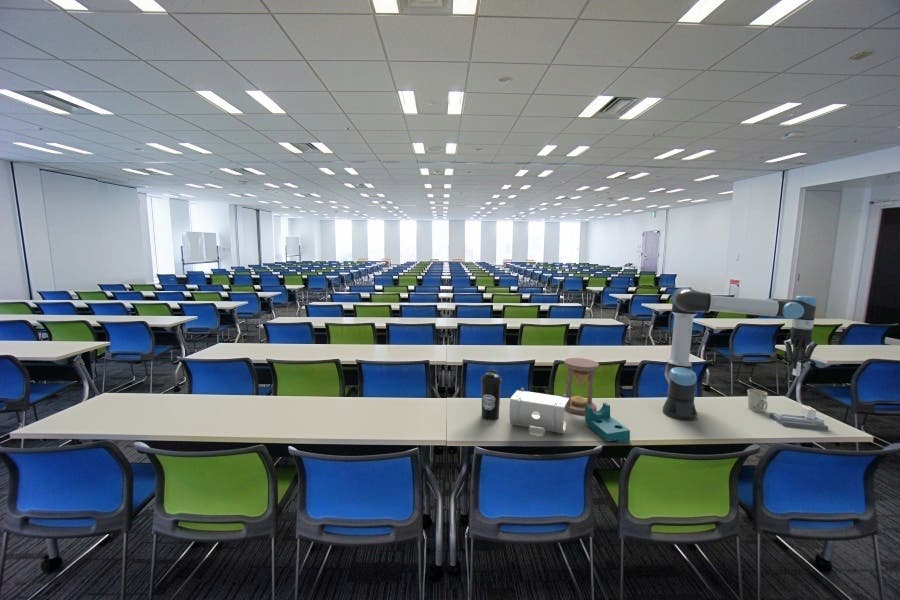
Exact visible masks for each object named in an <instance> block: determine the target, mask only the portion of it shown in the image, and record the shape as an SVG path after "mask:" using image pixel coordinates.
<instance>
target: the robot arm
mask: <svg viewBox="0 0 900 600" xmlns="http://www.w3.org/2000/svg"><path fill="white" fill-rule="evenodd" d="M671 302H672V304H671V313H672V314H673V316H674V318H673V326H672V327H673V329H672V339H671V347H670V349H671V350H670V357H669V358H668V359H666V366H665V370H664V377H665V380H666V382H667V384H668V387H667V397H666V399H665V402H664V404H663V406H662V413H664V415H665V416H668V417H671V418H673V419H677V420H680V421H681V420H682V421H694V420H697V418H698V412H697V408H696V404H695V397H696V395H695V394H696V385H697V381H698V380H697V373H696V372H695V371H693V370H692V368H693V366H692V363H691V362H690V355H691V354H690V352H691V346H692V345H691V343H692V334H693V333H692V332H693V324H694V317H695V316H697V315H698V313H706V314H707V313H710V312H711V311H712V312H721V313H731V314H732V313H733V314H743V315H756V316H763V317H764V316H765V317H766V316H768V317H776V318H784V319H785V318H786V319H789V320H792V324H791V326H792V327H791V330H790V337H789V339H787V340H783V344H784V345H785V351H786V357H787V360H788V361H791V369H792V375H793V376H795V377H800V376H801V370H803V368H804V364H805V363H808V362H810V360H811V357H812V355H813V353H814V350H815V348H816V347H817V346H818V343H816V342H814V341H813V339H812V337H813V334H814V330H813V329H814V323H815V318H816V317H815V315H816V311H817V304H818V303H817V298H816V297H815V296H808V295H796V296H795V298H794V299H784V298H765V299H761V298H748V297H738V296H737V297H735V296H723V295H722V296H721V295H713V294H712V293H710V292H702V291H698V290H695V289H693V288H690V287H680V288H678V289H676V290H675V291H674V292H673V293H672V295H671Z"/></svg>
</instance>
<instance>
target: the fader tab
mask: <svg viewBox="0 0 900 600" xmlns="http://www.w3.org/2000/svg"><path fill="white" fill-rule="evenodd" d="M800 415H803V418H805V419H815V416H817V409H815V408H813V407H811V406H809V405H807V404H806V405H801V409H800Z"/></svg>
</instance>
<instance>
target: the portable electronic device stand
mask: <svg viewBox="0 0 900 600" xmlns="http://www.w3.org/2000/svg"><path fill="white" fill-rule="evenodd" d="M569 399H570V398H568V397H567V394H566V393H562V396H560V395H553V394H546V393H542V392H541V393H540V392H534V391H532V392H531V391H525V388H524V387H520V390H518V389H517V390H516V391H515V392H514V393H513V394H512V396H510V401H509V402H510V403H509V423H510V424H509V425H514V426H520V427H523V428H528V431H527V434H528V435H529V434H531V435H530V436H534V435H536V436H535V437H539V436H543V437H544V436H545V433H546V431H548V432H555V433H558V434H565V433H566V429H567V422H566V421H565V417H564V416H565V405H566V404H567V402H568V400H569ZM534 412H537V413H539V415H536V414H533V413H534Z"/></svg>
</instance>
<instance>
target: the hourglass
mask: <svg viewBox="0 0 900 600" xmlns="http://www.w3.org/2000/svg"><path fill="white" fill-rule="evenodd" d="M563 365H564V367H566V368H567V373H566V374H567V375H566V385H567V387H566V389H565V394H567V397H568V398H570V399H569V400H568V402H567V404H566V405H565V409H564V411H567V412H570V413H573V414H577V415H585V405H588V406H590V407H591V408H592V411H593V412H597V405H596V404H595V403H594V402H593V393H594V386H593V383H594V380H595V374H594V372H595V371H597V370H599V368H600V364H599V362H597V361H595V360H592V359H587V358H581V357H580V358H579V357H570V358H566V359H564V361H563ZM573 377H574V379H575V380H576V382H577V384H578V387H582V386H583V383H585V381H586V380H588V385H587V390H586V391H587V394H586V395H587V398H586V397H583V396H581V395H575V396H572V394H573V392H572V382H573Z"/></svg>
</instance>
